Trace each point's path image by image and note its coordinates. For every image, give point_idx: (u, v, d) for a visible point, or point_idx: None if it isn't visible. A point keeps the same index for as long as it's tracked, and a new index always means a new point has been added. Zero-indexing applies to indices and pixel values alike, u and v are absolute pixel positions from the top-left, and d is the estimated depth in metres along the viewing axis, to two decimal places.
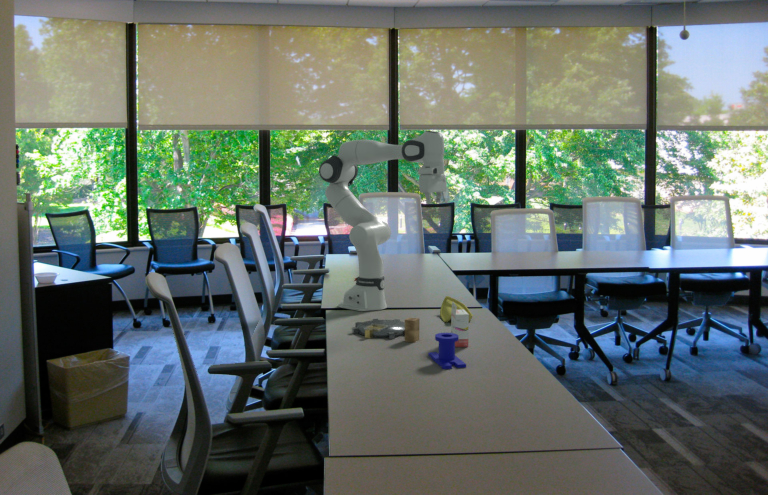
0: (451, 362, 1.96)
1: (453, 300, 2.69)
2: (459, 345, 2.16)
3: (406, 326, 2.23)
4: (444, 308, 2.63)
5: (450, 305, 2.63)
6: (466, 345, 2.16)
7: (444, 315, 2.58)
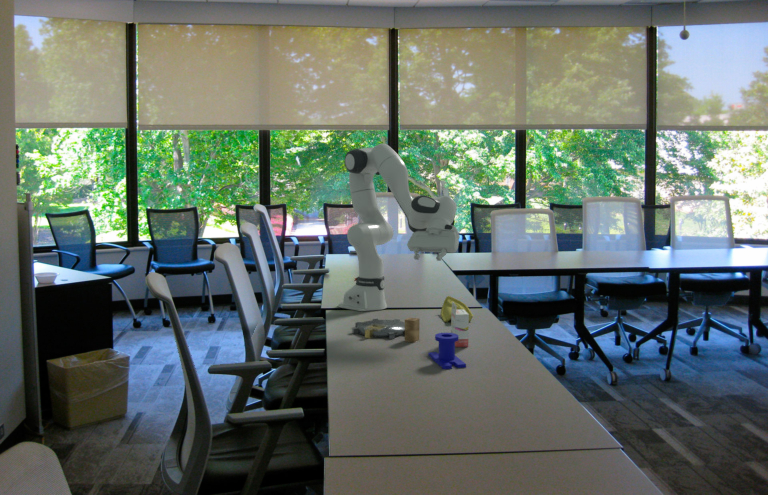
0: (451, 362, 1.96)
1: (454, 300, 2.69)
2: (459, 345, 2.16)
3: (406, 326, 2.23)
4: (445, 308, 2.64)
5: (451, 305, 2.63)
6: (466, 345, 2.16)
7: (445, 315, 2.58)
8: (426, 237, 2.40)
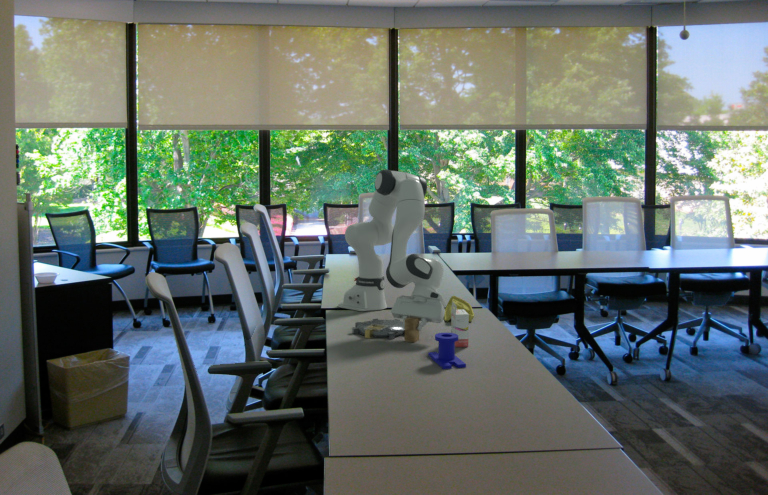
0: (451, 362, 1.97)
1: (459, 300, 2.70)
2: (459, 345, 2.16)
3: (406, 326, 2.23)
4: (448, 307, 2.64)
5: None
6: (466, 345, 2.16)
7: (447, 314, 2.59)
8: (411, 304, 2.29)
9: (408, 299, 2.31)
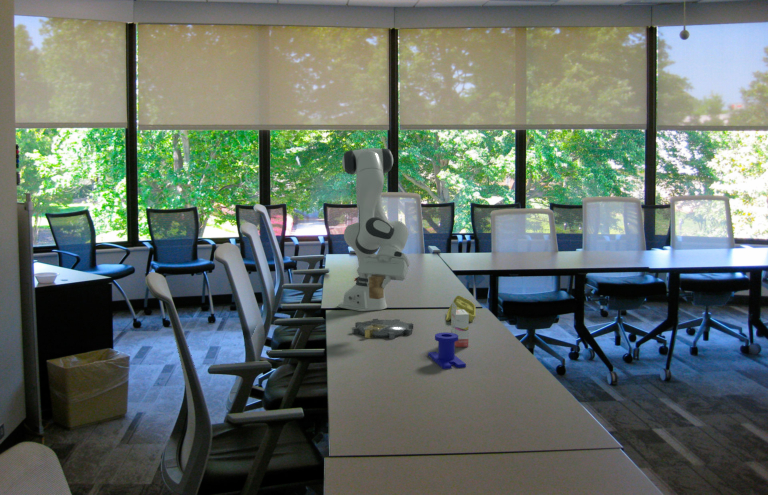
0: (450, 362, 1.97)
1: (464, 300, 2.70)
2: (459, 345, 2.16)
3: (370, 283, 2.31)
4: None
5: (458, 304, 2.64)
6: (466, 345, 2.16)
7: (449, 314, 2.60)
8: (376, 263, 2.37)
9: (373, 259, 2.39)
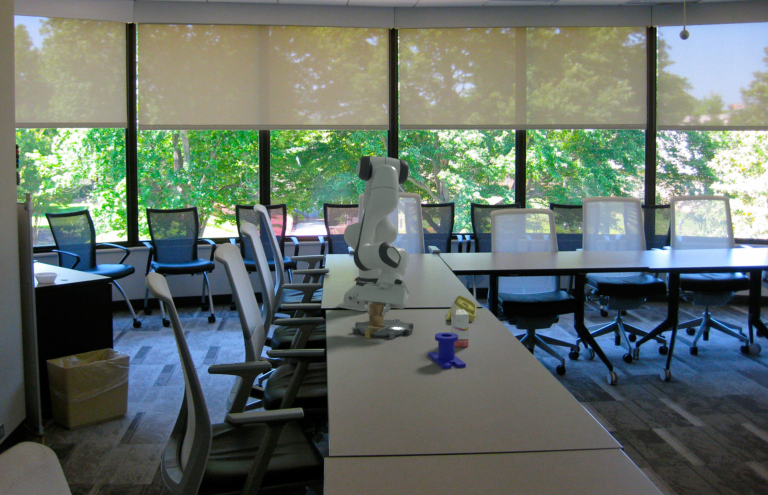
0: (450, 362, 1.97)
1: (465, 300, 2.70)
2: (459, 345, 2.16)
3: (371, 311, 2.33)
4: (453, 307, 2.65)
5: (458, 304, 2.64)
6: (466, 345, 2.16)
7: (450, 314, 2.60)
8: (376, 291, 2.39)
9: (374, 286, 2.40)
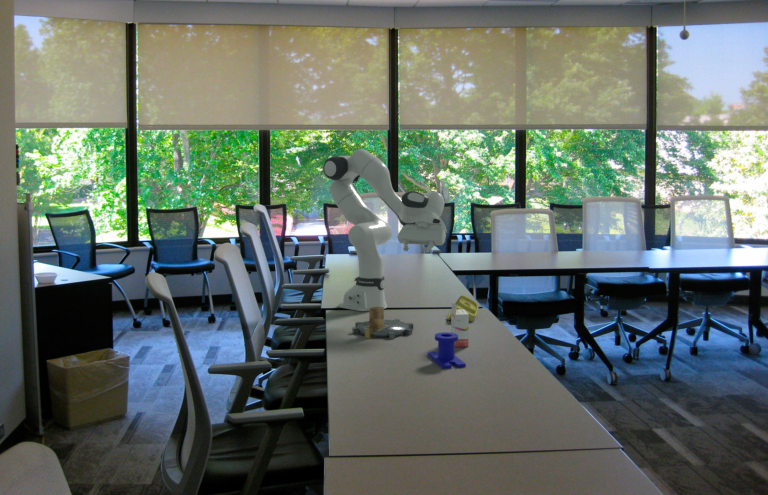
0: (450, 361, 1.97)
1: (468, 300, 2.70)
2: (459, 345, 2.16)
3: (371, 314, 2.33)
4: None
5: (460, 304, 2.64)
6: (466, 345, 2.16)
7: None
8: (415, 230, 2.54)
9: (412, 226, 2.56)
